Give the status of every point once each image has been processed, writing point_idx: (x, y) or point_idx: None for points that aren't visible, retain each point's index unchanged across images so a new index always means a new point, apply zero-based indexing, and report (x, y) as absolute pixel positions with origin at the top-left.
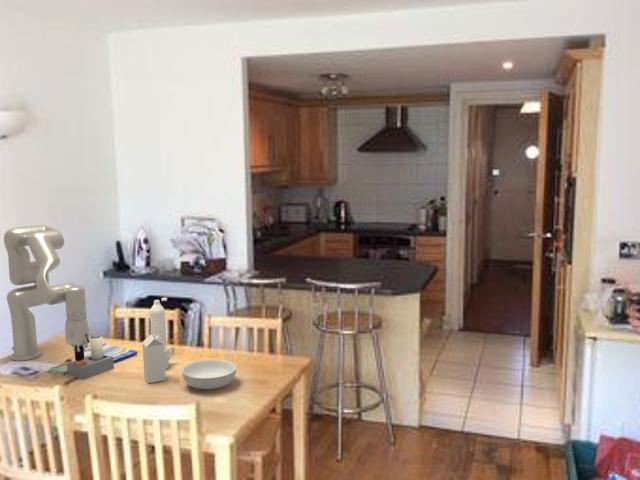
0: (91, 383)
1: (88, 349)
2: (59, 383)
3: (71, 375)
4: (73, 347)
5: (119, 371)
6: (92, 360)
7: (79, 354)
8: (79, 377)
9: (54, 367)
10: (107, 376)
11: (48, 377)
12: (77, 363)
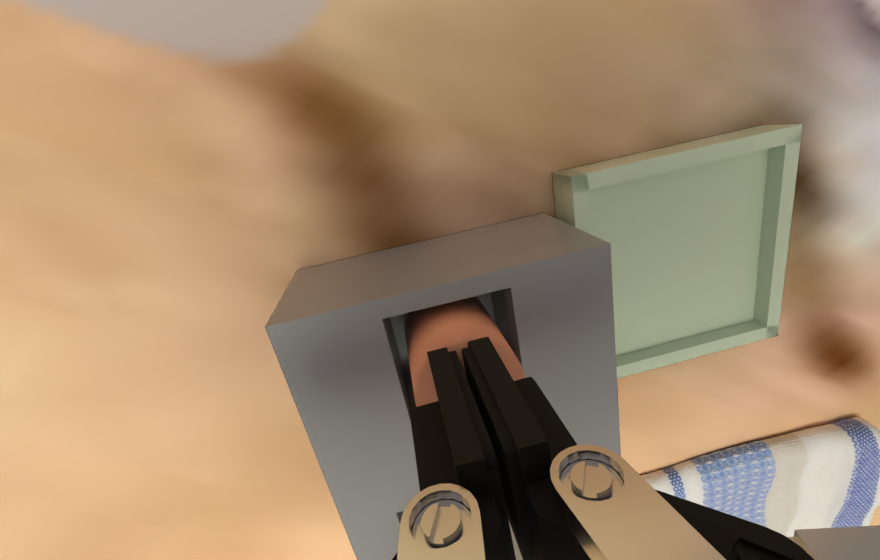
0: (118, 286)
1: (856, 526)
2: (370, 28)
3: (488, 227)
4: (653, 514)
5: (282, 548)
6: None
7: (433, 456)
8: (357, 258)
9: (779, 170)
10: (226, 452)
11: (647, 32)
12: (437, 330)
